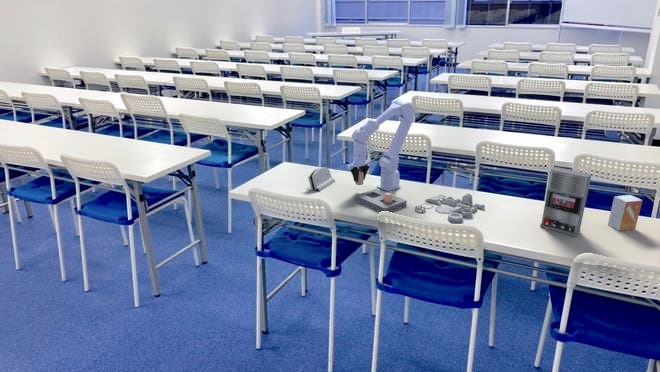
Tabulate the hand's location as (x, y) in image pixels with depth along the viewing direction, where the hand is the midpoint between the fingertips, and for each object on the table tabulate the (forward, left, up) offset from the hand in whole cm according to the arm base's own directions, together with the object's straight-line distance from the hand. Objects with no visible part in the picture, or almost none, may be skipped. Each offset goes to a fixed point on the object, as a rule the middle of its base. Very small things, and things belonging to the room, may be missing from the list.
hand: (359, 180), depth 231 cm
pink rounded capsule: (0, 0, -2) cm, 2 cm away
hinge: (+9, -19, -6) cm, 22 cm away
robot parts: (-17, +41, -7) cm, 45 cm away
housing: (+2, +17, -6) cm, 18 cm away
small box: (-57, +99, -6) cm, 114 cm away
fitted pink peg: (+2, +22, -6) cm, 23 cm away
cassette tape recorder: (-35, +84, -6) cm, 91 cm away
